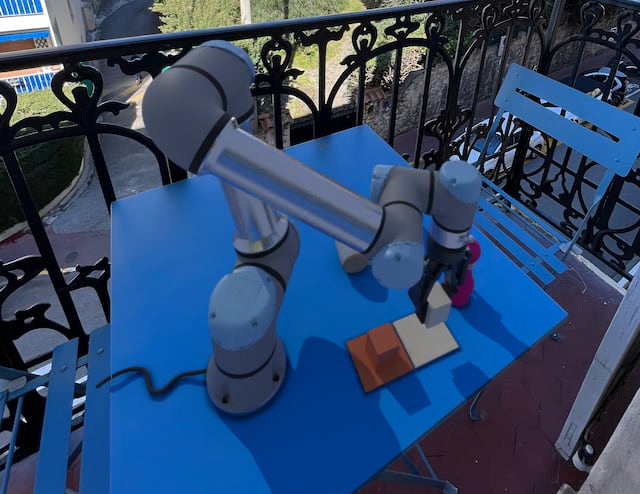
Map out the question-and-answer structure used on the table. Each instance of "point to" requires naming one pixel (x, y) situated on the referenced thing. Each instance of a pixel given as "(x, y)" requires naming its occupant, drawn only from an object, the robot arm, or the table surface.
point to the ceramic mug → (351, 258)
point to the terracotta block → (382, 347)
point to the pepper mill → (467, 275)
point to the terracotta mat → (366, 369)
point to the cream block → (437, 306)
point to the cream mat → (424, 340)
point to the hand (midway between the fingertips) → (430, 312)
